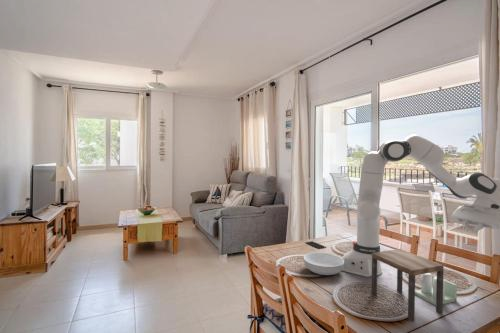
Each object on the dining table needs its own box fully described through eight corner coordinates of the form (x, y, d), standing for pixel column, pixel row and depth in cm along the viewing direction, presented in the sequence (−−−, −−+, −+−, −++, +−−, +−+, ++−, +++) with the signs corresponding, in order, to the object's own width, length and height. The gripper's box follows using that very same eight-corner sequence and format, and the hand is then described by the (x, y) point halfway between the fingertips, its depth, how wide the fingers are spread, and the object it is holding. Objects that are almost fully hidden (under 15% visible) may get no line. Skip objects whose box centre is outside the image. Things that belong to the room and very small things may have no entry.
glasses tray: (433, 290, 125) (434, 269, 125) (456, 300, 115) (456, 278, 115) (414, 294, 121) (414, 273, 121) (435, 305, 112) (436, 282, 111)
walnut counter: (411, 321, 101) (412, 270, 100) (371, 295, 120) (371, 252, 119) (442, 313, 106) (443, 265, 105) (399, 289, 125) (400, 248, 124)
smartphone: (318, 248, 181) (304, 242, 194) (318, 249, 181) (304, 243, 194) (326, 247, 184) (312, 241, 198) (326, 248, 184) (312, 242, 198)
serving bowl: (346, 282, 133) (347, 268, 133) (303, 278, 137) (303, 264, 137) (341, 265, 154) (341, 253, 153) (303, 262, 158) (303, 251, 158)
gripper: (457, 200, 136) (443, 221, 133) (507, 207, 117) (491, 232, 114) (463, 208, 137) (449, 229, 135) (513, 217, 118) (498, 241, 115)
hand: (468, 230), depth 124 cm, fingers open, 2 cm apart
